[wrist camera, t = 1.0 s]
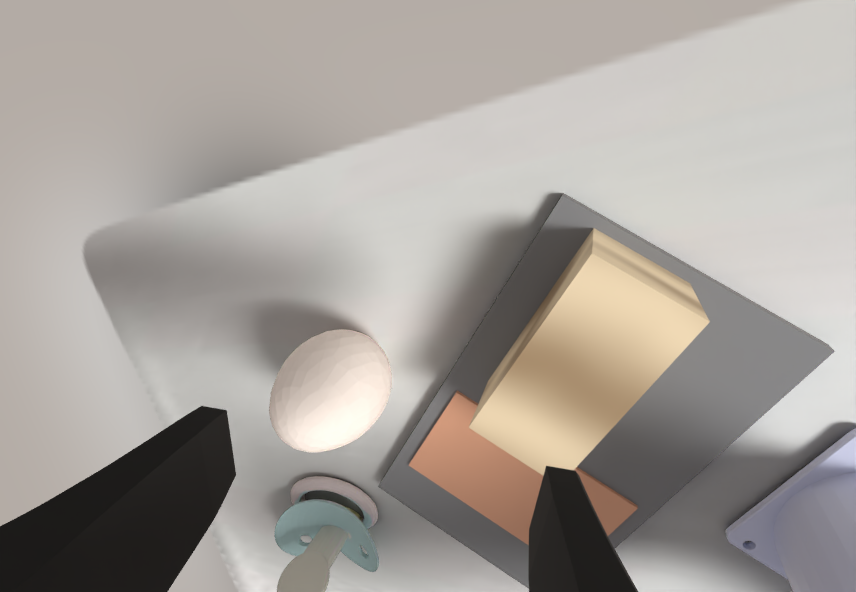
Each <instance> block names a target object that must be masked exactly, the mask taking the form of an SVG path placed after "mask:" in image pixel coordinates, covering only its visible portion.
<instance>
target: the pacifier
mask: <svg viewBox="0 0 856 592" xmlns="http://www.w3.org/2000/svg"><path fill="white" fill-rule="evenodd" d="M315 490H323V491H330V492H334V493H337V494H340V495H342V496H344V497H346V498H348V499H350V500H351V501H353V502H354V503H355V504H356V505H358V507H359V508H360V509H361V510H362V512H363V515H364V518H362V517H361V516H360V515H359V514H358V513H357V512H355V511H354V510H352V509H350V508H348V507H346V506H343V505H340V504H337V503H335V502H332V501H328V500H322V499H312V500H305V493H307V492H310V491H315ZM290 497H291V501H292V503H293V506H291V507H290V508H289V509H287V510H286V511H285V512H284V513H283V514H282V515H281V517H280V519H279V520H278V523H277V525H276V528H275V540H276V543H277V544H278V546H279V547H280V548H281V549H282V550H283V551H285V552H286V553H289V554H291V555H295V556H297V557H296V558H294V559H293V560H292V561H291V562H290V563H289V564H288V565H287V567H286V568H285V569H284V571H283V573H282V574H281V577H280V579H279V582H278V586H277V592H325V591H326V588H327V585H328V582H329V574H330V571H329V569H330V567H331V565H332V564H333V562H334V561H335V559H336V557H337V556H338V554H339V552H340V551H341V552H342V553H343V554H344V555H346V556H347V557H348V558H349V559H350V560H352V561H353V562H354V563H356V564H357V565H359V566H360V567H362V568H364V569H365V570H368V571H371V572H374V571H376V570H377V568H378V566H379V557H378V554H377V550H376V547H375V544H374V542H373V540H372V538H371V536H370V534H369V532H368V529H369V528H371V527H372V526H373V525H375V523H376V521H377V520H378V510H377V508H376V505H375V503H374V502H373V501H372V499H371V498H370V497H369V496H368V495H367V494H366V493H364V492H363V491H362V490H361V489H359V488H357V487H355V486H354V485H352V484H350V483H347V482H345V481H342V480H339V479H335V478H331V477H323V476H314V477H307V478H304V479H302V480H299V481H298V482H296V483H295V484H294V485H293V487H292V489H291V491H290ZM303 535H308V536H310V537H311V538H312V541H311V542H310V543H305V542H303V541H302V540H301V536H303ZM361 546H363V547H364V548H365V550H366V551H367V553H368V555H367V554H365V553H364V552H363V550H362V548H361Z"/></svg>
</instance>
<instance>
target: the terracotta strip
mask: <svg viewBox="0 0 856 592" xmlns="http://www.w3.org/2000/svg"><path fill="white" fill-rule="evenodd" d="M477 406H478V403H476V402H475V401H473V400H471V399H470V398H468V397H467V396H465V395H464V394H462V393H460V392H459V391H457V392H456V393H455V395H454V397H453V398H452V400H451V401H450V403H449V404H448V406H447V407H446V409H445V410H444V412H443V413H442V415H441V416H440V418H439V419H438V421H437V422H436V424H435V425H434V427H433V428H432V430H431V431H430V433H429V435H428V436H427V438H426V439H425V441H424V442H423V444H422V445H421V447H420V448H419V450H418V451H417V453H416V454H415V456H414V457H413V459H412V460H411V462H410V463H409V466H410V467H412V468H413V469H415V470H416V471H418V472H419V473H421V474H422V475H424V476H425V477H427V478H428V479H430V480H431V481H433V482H434V483H436V484H437V485H439V486H440V487H442V488H443V489H445V490H446V491H448V492H449V493H451V494H452V495H454V496H455V497H457V498H458V499H460V500H461V501H463V502H464V503H466V504H467V505H469V506H470V507H472V508H473V509H475V510H476V511H478V512H479V513H481V514H482V515H484V516H485V517H487V518H488V519H490V520H491V521H493V522H494V523H496V524H497V525H499V526H500V527H502V528H503V529H505V530H506V531H508V532H509V533H511V534H512V535H514V536H515V537H517V538H518V539H520V540H521V541H523V542H524V543H526V544H527V545H529V528H530V524H531V520H532V516H533V513H534V509H535V505H536V502H537V498H538V494H539V491H540V487H541V483H542V479H543V475H541V474H540V473H538V472H537V471H535V470H534V469H532V468H530V467H529V466H527V465H526V464H524V463H523V462H521V461H520V460H518V459H517V458H515V457H513V456H512V455H510V454H509V453H507V452H506V451H504V450H503V449H501V448H500V447H498V446H496V445H495V444H493V443H492V442H490V441H489V440H487V439H486V438H484V437H482V436H481V435H479V434H478V433H476V432H475V431H473V430H472V429H470V428H469V425H470V423H471V420H472V418H473V416H474V413H475V411H476V409H477ZM574 471H576V472H577V473H578V475H579V476H580V479H581V481H582V483H583V485H584V488H585V490H586V492H587V494H588V497H589V499H590V501H591V503H592V505H593V507H594V509H595V511H596V513H597V516H598V518H599V520H600V522H601V524H602V526H603V528H604V530H605V532H606V534H607V536H609V535H610V534H611V533H612V532H613V531H614V530H615V529H616V528H617V527H618V526H619V525H621V524H622V523H623V522H624V521H625V520H626V519H627V518H628V517H629V516H630V515H631V514H632V513H633V512H635V511H636V510H637V509H638V506H637V505H636V504H634V503H633V502H631V501H630V500H628V499H627V498H625V497H623V496H622V495H620V494H619V493H617V492H616V491H614V490H612V489H611V488H609V487H608V486H606V485H605V484H603V483H601V482H600V481H598V480H597V479H595V478H594V477H592V476H590V475H589V474H587V473H586V472H584V471H583V470H581V469H580V468H578V467H576V468H575V469H574Z"/></svg>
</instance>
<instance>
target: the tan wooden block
mask: <svg viewBox="0 0 856 592" xmlns="http://www.w3.org/2000/svg"><path fill="white" fill-rule="evenodd" d="M709 322H710V321H709V319H708V317H707V315H706V313H705V311H704V309H703V307H702V306H701V304H700V302H699V300H698V298H697V296H696V294H695V292H694V290H693V288H692V286H691V284H690V283H689V282H687V281H685V280H683V279H682V278H680V277H678V276H676V275H675V274H673V273H671V272H669V271H668V270H666V269H664V268H663V267H661V266H659V265H657V264H656V263H654V262H652V261H650V260H649V259H647V258H645V257H643V256H642V255H640V254H638V253H636V252H635V251H633V250H631V249H630V248H628V247H626V246H624V245H623V244H621V243H619V242H617V241H616V240H614V239H612V238H610V237H609V236H607V235H605V234H604V233H602V232H600V231H598V230H597V229H595V228H593V230H592V231H591V233H590V234H589V236H588V237H587V238H586V240H585V241H584V243H583V244H582V246H581V247H580V249H579V250H578V251H577V253H576V254H575V256H574V257H573V259H572V260H571V262H570V263H569V264H568V266H567V267H566V269H565V270H564V272H563V273H562V275H561V276H560V278H559V279H558V280H557V282H556V283H555V285H554V286H553V288H552V289H551V291H550V292H549V293H548V295H547V296H546V298H545V299H544V301H543V302H542V304H541V305H540V306H539V308H538V309H537V311H536V312H535V314H534V315H533V317H532V318H531V319H530V321H529V322H528V324H527V325H526V327H525V328H524V330H523V331H522V333H521V334H520V335H519V337H518V338H517V340H516V341H515V343H514V344H513V346H512V347H511V348H510V350H509V351H508V353H507V354H506V356H505V357H504V359H503V360H502V361H501V363H500V364H499V366H498V367H497V369H496V370H495V372H494V373H493V374H492V376H491V377H490V379H489V380H488V382H487V385H486V387H485V390H484V392H483V394H482V397H481V399H480V401H479V404H478V406H477V409H476V411H475V413H474V416H473V418H472V420H471V423H470V425H469V428H470V429H472V430H473V431H475V432H476V433H478V434H479V435H481V436H482V437H484V438H486V439H487V440H489V441H490V442H492V443H493V444H495V445H496V446H498V447H500V448H501V449H503V450H504V451H506V452H507V453H509V454H510V455H512V456H513V457H515V458H517V459H518V460H520V461H521V462H523V463H524V464H526V465H527V466H529V467H530V468H532V469H534V470H535V471H537V472H538V473H540V474H541V475H543V476H544V472H545V468H546V466H551V467H557V468H563V469H568V470H574V469H575V468H576V467H577V466H578V465H579V464H580V463H581V462H582V461H583V460H584V458H585V457H586V456H587V455H588V454H589V453H590V452H591V451H592V450H593V449H594V448H595V446H596V445H597V444H598V443H599V442H600V441H601V440H602V439H603V438H604V437H605V436H606V434H607V433H608V432H609V431H610V430H611V429H612V428H613V427H614V426H615V425H616V424H617V423H618V421H619V420H620V419H621V418H622V417H623V416H624V415H625V414H626V413H627V412H628V411H629V409H630V408H631V407H632V406H633V405H634V404H635V403H636V402H637V401H638V400H639V399H640V397H641V396H642V395H643V394H644V393H645V392H646V391H647V390H648V389H649V388H650V387H651V386H652V384H653V383H654V382H655V381H656V380H657V379H658V378H659V377H660V376H661V375H662V374H663V372H664V371H665V370H666V369H667V368H668V367H669V366H670V365H671V364H672V363H673V362H674V360H675V359H676V358H677V357H678V356H679V355H680V354H681V353H682V352H683V351H684V350H685V349H686V347H687V346H688V345H689V344H690V343H691V342H692V341H693V340H694V339H695V338H696V337H697V335H698V334H699V333H700V332H701V331H702V330H703V329H704V328H705V327H706V326H707V325H708V323H709Z"/></svg>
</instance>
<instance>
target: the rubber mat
mask: <svg viewBox="0 0 856 592" xmlns="http://www.w3.org/2000/svg"><path fill="white" fill-rule="evenodd" d="M593 228H595V229H597V230H598V231H600V232H602V233H604V234H605V235H607V236H609V237H610V238H612V239H614V240H616V241H617V242H619V243H621V244H623V245H624V246H626V247H628V248H630V249H631V250H633V251H635V252H636V253H638V254H640V255H642V256H643V257H645V258H647V259H649V260H650V261H652V262H654V263H656V264H657V265H659V266H661V267H663V268H664V269H666V270H668V271H669V272H671V273H673V274H675V275H676V276H678V277H680V278H682V279H683V280H685V281H687V282H689V283H690V284H691V286H692V288H693V290H694V292H695V294H696V296H697V298H698V300H699V302H700V304H701V306H702V307H703V309H704V311H705V313H706V315H707V317H708V319H709V321H710V322H709V323H708V325H707V326H706V327H705V328H704V329H703V330H702V331H701V332H700V333H699V334H698V335H697V337H696V338H695V339H694V340H693V341H692V342H691V343H690V344H689V345H688V346H687V347H686V349H685V350H684V351H683V352H682V353H681V354H680V355H679V356H678V357H677V358H676V359H675V360H674V362H673V363H672V364H671V365H670V366H669V367H668V368H667V369H666V370H665V371H664V372H663V374H662V375H661V376H660V377H659V378H658V379H657V380H656V381H655V382H654V383H653V384H652V386H651V387H650V388H649V389H648V390H647V391H646V392H645V393H644V394H643V395H642V396H641V397H640V399H639V400H638V401H637V402H636V403H635V404H634V405H633V406H632V407H631V408H630V409H629V411H628V412H627V413H626V414H625V415H624V416H623V417H622V418H621V419H620V420H619V421H618V423H617V424H616V425H615V426H614V427H613V428H612V429H611V430H610V431H609V432H608V433H607V434H606V436H605V437H604V438H603V439H602V440H601V441H600V442H599V443H598V444H597V445H596V446H595V448H594V449H593V450H592V451H591V452H590V453H589V454H588V455H587V456H586V457H585V458H584V460H583V461H582V462H581V463H580V464H579V465H578V466H577V467H578V468H580V469H581V470H583V471H584V472H586V473H587V474H589V475H590V476H592V477H594V478H595V479H597V480H598V481H600V482H601V483H603V484H605V485H606V486H608V487H609V488H611V489H612V490H614V491H616V492H617V493H619V494H620V495H622V496H623V497H625V498H627V499H628V500H630V501H631V502H633V503H634V504H636V505H637V506H638V509H637V510H636V511H635V512H633V513H632V514H631V515H630V516H629V517H628V518H627V519H626V520H625V521H624V522H623V523H622V524H621V525H619V526H618V527H617V528H616V529H615V530H614V531H613V532H612V533H611V534H610V535H609V536H608V537H609V539H610V541H611V543H612V545H613V547H614V548H616V547H617V546H618V545H619V544H620V543H621V542H622V541H623V540H625V539H626V538H627V537H628V536H629V535H630V534H631V533H632V532H633V531H635V530H636V529H637V528H638V527H639V526H640V525H641V524H642V523H644V522H645V521H646V520H647V519H648V518H649V517H650V516H651V515H652V514H654V513H655V512H656V511H657V510H658V509H659V508H660V507H661V506H662V505H664V504H665V503H666V502H667V501H668V500H669V499H670V498H671V497H673V496H674V495H675V494H676V493H677V492H678V491H679V490H680V489H681V488H683V487H684V486H685V485H686V484H687V483H688V482H689V481H690V480H692V479H693V478H694V477H695V476H696V475H697V474H698V473H699V472H700V471H702V470H703V469H704V468H705V467H706V466H707V465H708V464H709V463H711V462H712V461H713V460H714V459H715V458H716V457H717V456H718V455H719V454H721V453H722V452H723V451H724V450H725V449H726V448H727V447H728V446H730V445H731V444H732V443H733V442H734V441H735V440H736V439H737V438H738V437H740V436H741V435H742V434H743V433H744V432H745V431H746V430H747V429H749V428H750V427H751V426H752V425H753V424H754V423H755V422H756V421H757V420H759V419H760V418H761V417H762V416H763V415H764V414H765V413H766V412H767V411H769V410H770V409H771V408H772V407H773V406H774V405H775V404H776V403H778V402H779V401H780V400H781V399H782V398H783V397H784V396H785V395H786V394H788V393H789V392H790V391H791V390H792V389H793V388H794V387H795V386H797V385H798V384H799V383H800V382H801V381H802V380H803V379H804V378H805V377H807V376H808V375H809V374H810V373H811V372H812V371H813V370H814V369H816V368H817V367H818V366H819V365H820V364H821V363H822V362H823V361H824V360H826V359H827V358H828V357H829V356H830V355H831V354H832V353H833V352H835V351H834V350H833V349H832V348H831V347H830V346H829V345H828V344H826V343H824V342H823V341H821V340H819V339H817V338H816V337H814V336H812V335H810V334H809V333H807V332H805V331H803V330H802V329H800V328H798V327H796V326H795V325H793V324H791V323H789V322H788V321H786V320H784V319H782V318H781V317H779V316H777V315H775V314H774V313H772V312H770V311H768V310H767V309H765V308H763V307H761V306H760V305H758V304H756V303H754V302H753V301H751V300H749V299H747V298H746V297H744V296H742V295H740V294H739V293H737V292H735V291H733V290H732V289H730V288H728V287H726V286H725V285H723V284H721V283H719V282H718V281H716V280H714V279H712V278H711V277H709V276H707V275H705V274H704V273H702V272H700V271H698V270H697V269H695V268H693V267H691V266H690V265H688V264H686V263H684V262H683V261H681V260H679V259H677V258H676V257H674V256H672V255H670V254H669V253H667V252H665V251H663V250H662V249H660V248H658V247H656V246H655V245H653V244H651V243H650V242H648V241H646V240H644V239H643V238H641V237H639V236H637V235H636V234H634V233H632V232H630V231H629V230H627V229H625V228H623V227H622V226H620V225H618V224H616V223H615V222H613V221H611V220H609V219H608V218H606V217H604V216H602V215H601V214H599V213H597V212H595V211H594V210H592V209H590V208H588V207H587V206H585V205H583V204H581V203H580V202H578V201H576V200H574V199H573V198H571V197H569V196H567V195H566V194H564V193H563V195H562V196H561V198H560V199H559V201H558V202H557V204H556V206H555V207H554V209H553V210H552V212H551V214H550V215H549V217H548V218H547V220H546V221H545V223H544V225H543V226H542V228H541V229H540V231H539V233H538V234H537V236H536V237H535V239H534V240H533V242H532V244H531V245H530V247H529V248H528V250H527V252H526V253H525V255H524V256H523V258H522V259H521V261H520V263H519V264H518V266H517V267H516V269H515V271H514V272H513V274H512V275H511V277H510V278H509V280H508V282H507V283H506V285H505V286H504V288H503V290H502V291H501V293H500V294H499V296H498V297H497V299H496V301H495V302H494V304H493V305H492V307H491V308H490V310H489V312H488V313H487V315H486V316H485V318H484V320H483V321H482V323H481V324H480V326H479V327H478V329H477V331H476V332H475V334H474V335H473V337H472V339H471V340H470V342H469V343H468V345H467V346H466V348H465V350H464V351H463V353H462V354H461V356H460V358H459V359H458V361H457V362H456V364H455V365H454V367H453V369H452V370H451V372H450V373H449V375H448V377H447V378H446V380H445V381H444V383H443V384H442V386H441V388H440V389H439V391H438V392H437V394H436V396H435V397H434V399H433V400H432V402H431V403H430V405H429V407H428V408H427V410H426V411H425V413H424V414H423V416H422V418H421V419H420V421H419V422H418V424H417V426H416V427H415V429H414V430H413V432H412V433H411V435H410V437H409V438H408V440H407V441H406V443H405V445H404V446H403V448H402V449H401V451H400V452H399V454H398V456H397V457H396V459H395V460H394V462H393V464H392V465H391V467H390V468H389V470H388V471H387V473H386V475H385V476H384V478H383V479H382V481H381V483H380V484H379V486H378V487H379V488H381V489H382V490H384V491H385V492H387V493H388V494H390V495H391V496H393V497H394V498H396V499H397V500H399V501H400V502H402V503H403V504H405V505H406V506H407V507H409V508H410V509H412V510H413V511H415V512H416V513H418V514H419V515H421V516H422V517H424V518H425V519H427V520H428V521H430V522H431V523H433V524H434V525H436V526H437V527H439V528H440V529H441V530H443V531H444V532H446V533H447V534H449V535H450V536H452V537H453V538H455V539H456V540H458V541H459V542H461V543H462V544H464V545H465V546H467V547H468V548H470V549H471V550H472V551H474V552H475V553H477V554H478V555H480V556H481V557H483V558H484V559H486V560H487V561H489V562H490V563H492V564H493V565H495V566H496V567H498V568H499V569H501V570H502V571H503V572H505V573H506V574H508V575H509V576H511V577H512V578H514V579H515V580H517V581H518V582H520V583H521V584H523V585H524V586H526V587H527V588H529V580H528V565H529V545H527V544H526V543H524V542H523V541H521V540H520V539H518V538H517V537H515V536H514V535H512V534H511V533H509V532H508V531H506V530H505V529H503V528H502V527H500V526H499V525H497V524H496V523H494V522H493V521H491V520H490V519H488V518H487V517H485V516H484V515H482V514H481V513H479V512H478V511H476V510H475V509H473V508H472V507H470V506H469V505H467V504H466V503H464V502H463V501H461V500H460V499H458V498H457V497H455V496H454V495H452V494H451V493H449V492H448V491H446V490H445V489H443V488H442V487H440V486H439V485H437V484H436V483H434V482H433V481H431V480H430V479H428V478H427V477H425V476H424V475H422V474H421V473H419V472H418V471H416V470H415V469H413V468H412V467H410V466H409V463H410V462H411V460H412V459H413V457H414V456H415V454H416V453H417V451H418V450H419V448H420V447H421V445H422V444H423V442H424V441H425V439H426V438H427V436H428V435H429V433H430V431H431V430H432V428H433V427H434V425H435V424H436V422H437V421H438V419H439V418H440V416H441V415H442V413H443V412H444V410H445V409H446V407H447V406H448V404H449V403H450V401H451V400H452V398H453V397H454V395H455V393H456V392H457V391H459V392H460V393H462V394H464V395H465V396H467V397H468V398H470V399H471V400H473V401H475V402H476V403H478V404H479V401H480V399H481V397H482V394H483V392H484V390H485V387H486V385H487V382H488V380H489V379H490V377H491V376H492V374H493V373H494V372H495V370H496V369H497V367H498V366H499V364H500V363H501V361H502V360H503V359H504V357H505V356H506V354H507V353H508V351H509V350H510V348H511V347H512V346H513V344H514V343H515V341H516V340H517V338H518V337H519V335H520V334H521V333H522V331H523V330H524V328H525V327H526V325H527V324H528V322H529V321H530V319H531V318H532V317H533V315H534V314H535V312H536V311H537V309H538V308H539V306H540V305H541V304H542V302H543V301H544V299H545V298H546V296H547V295H548V293H549V292H550V291H551V289H552V288H553V286H554V285H555V283H556V282H557V280H558V279H559V278H560V276H561V275H562V273H563V272H564V270H565V269H566V267H567V266H568V264H569V263H570V262H571V260H572V259H573V257H574V256H575V254H576V253H577V251H578V250H579V249H580V247H581V246H582V244H583V243H584V241H585V240H586V238H587V237H588V236H589V234H590V233H591V231H592V230H593Z"/></svg>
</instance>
